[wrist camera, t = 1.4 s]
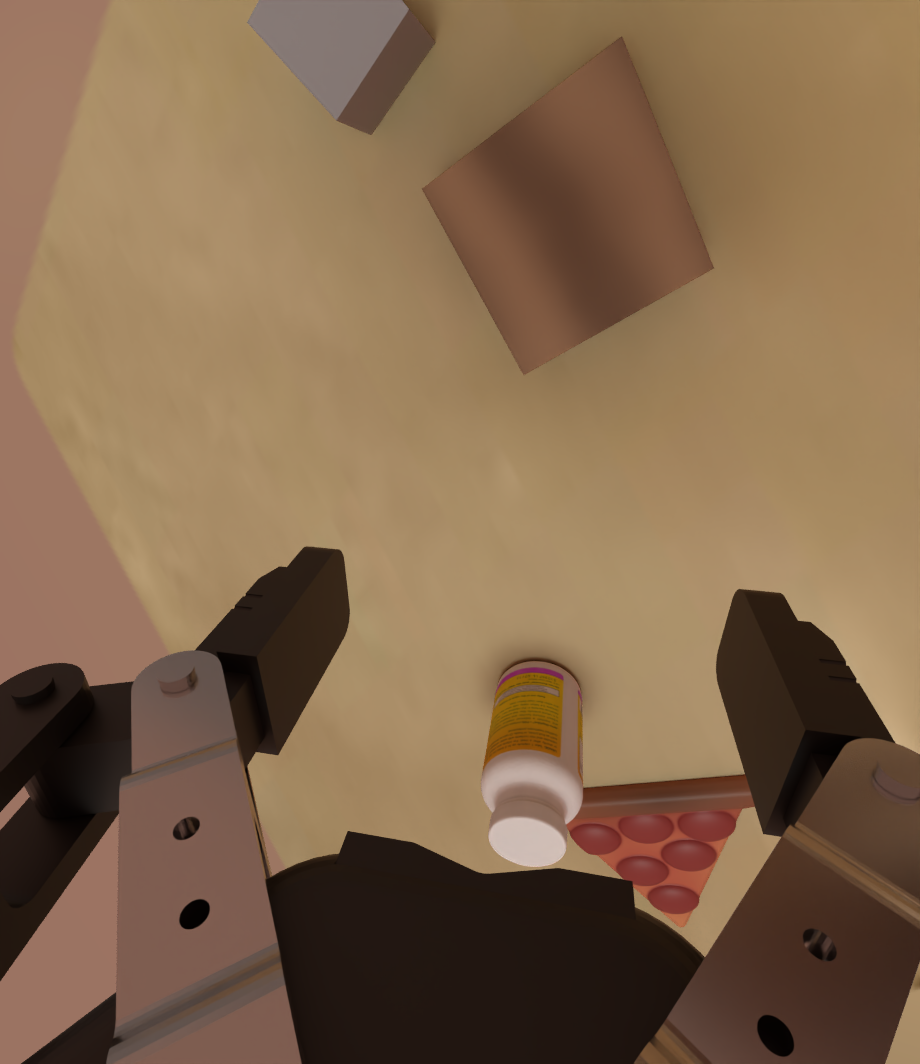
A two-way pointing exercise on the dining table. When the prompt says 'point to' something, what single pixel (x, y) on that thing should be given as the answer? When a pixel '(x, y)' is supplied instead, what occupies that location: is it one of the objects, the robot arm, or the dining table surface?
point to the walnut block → (571, 213)
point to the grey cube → (346, 51)
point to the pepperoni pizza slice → (662, 834)
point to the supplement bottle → (534, 763)
